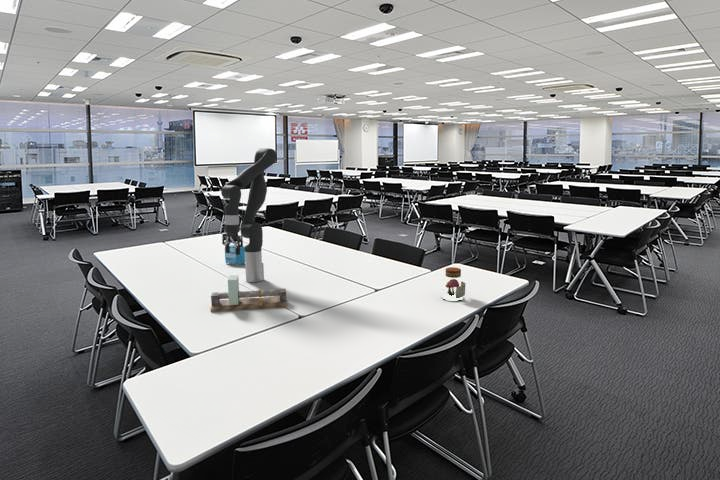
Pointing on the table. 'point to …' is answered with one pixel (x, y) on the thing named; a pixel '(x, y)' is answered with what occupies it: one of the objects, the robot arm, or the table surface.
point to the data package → (235, 256)
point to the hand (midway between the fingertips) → (232, 253)
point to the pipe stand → (249, 300)
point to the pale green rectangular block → (233, 289)
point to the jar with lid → (455, 282)
